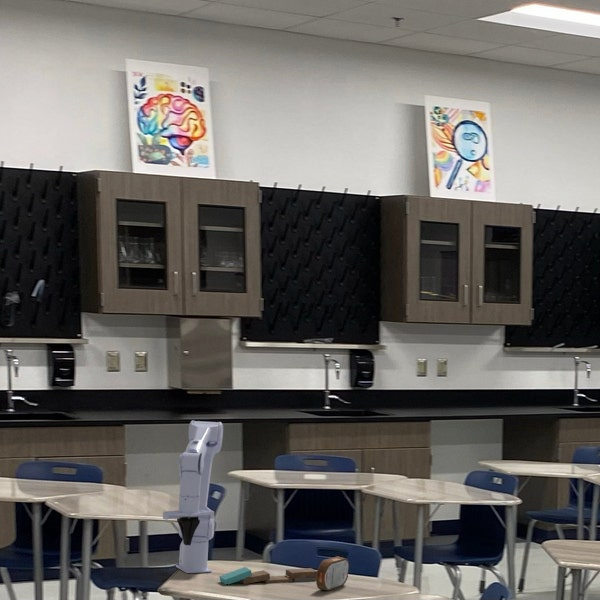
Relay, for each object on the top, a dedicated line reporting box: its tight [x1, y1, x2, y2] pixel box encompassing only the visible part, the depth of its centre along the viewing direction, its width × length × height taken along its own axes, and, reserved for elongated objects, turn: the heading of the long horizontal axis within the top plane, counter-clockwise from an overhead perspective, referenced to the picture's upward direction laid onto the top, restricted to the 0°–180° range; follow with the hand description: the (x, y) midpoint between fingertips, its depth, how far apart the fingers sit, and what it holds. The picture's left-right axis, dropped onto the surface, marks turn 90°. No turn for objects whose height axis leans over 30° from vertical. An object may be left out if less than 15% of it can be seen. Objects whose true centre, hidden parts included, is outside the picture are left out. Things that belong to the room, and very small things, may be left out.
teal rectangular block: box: [219, 566, 252, 585], centre depth 326 cm, size 2×4×8 cm
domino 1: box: [238, 570, 271, 585], centre depth 329 cm, size 2×4×8 cm
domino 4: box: [291, 577, 316, 583], centre depth 336 cm, size 2×4×8 cm
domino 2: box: [263, 575, 293, 584], centre depth 332 cm, size 2×4×8 cm
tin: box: [315, 555, 350, 592], centre depth 326 cm, size 15×3×8 cm, turn 149°
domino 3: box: [285, 567, 317, 578], centre depth 336 cm, size 2×4×8 cm
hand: (187, 544), depth 324 cm, fingers closed
